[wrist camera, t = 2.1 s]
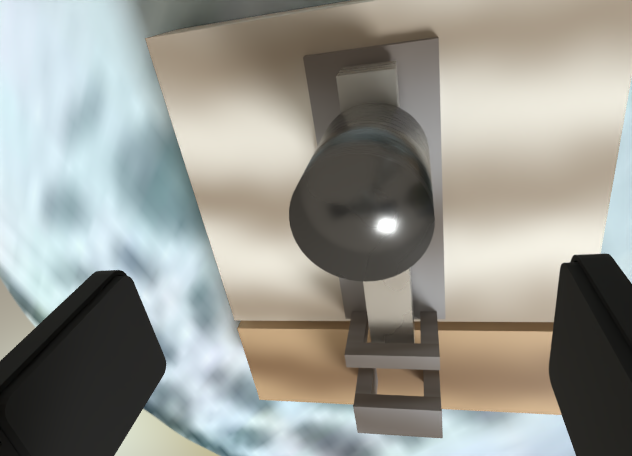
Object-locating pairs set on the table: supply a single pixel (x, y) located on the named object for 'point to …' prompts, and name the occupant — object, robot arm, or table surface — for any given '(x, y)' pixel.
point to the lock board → (447, 185)
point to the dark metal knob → (369, 198)
